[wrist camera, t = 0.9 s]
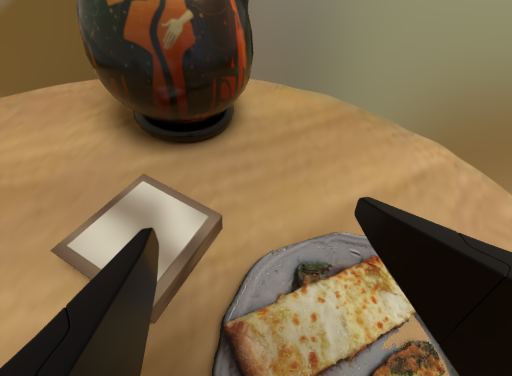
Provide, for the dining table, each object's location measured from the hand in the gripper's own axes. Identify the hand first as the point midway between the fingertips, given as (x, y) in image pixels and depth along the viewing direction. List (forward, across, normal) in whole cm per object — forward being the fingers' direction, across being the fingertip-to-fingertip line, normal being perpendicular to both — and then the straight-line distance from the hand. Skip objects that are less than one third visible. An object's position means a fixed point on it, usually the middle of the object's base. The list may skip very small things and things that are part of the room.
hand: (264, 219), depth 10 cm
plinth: (+12, +9, +12) cm, 19 cm away
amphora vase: (+35, +5, +4) cm, 35 cm away
